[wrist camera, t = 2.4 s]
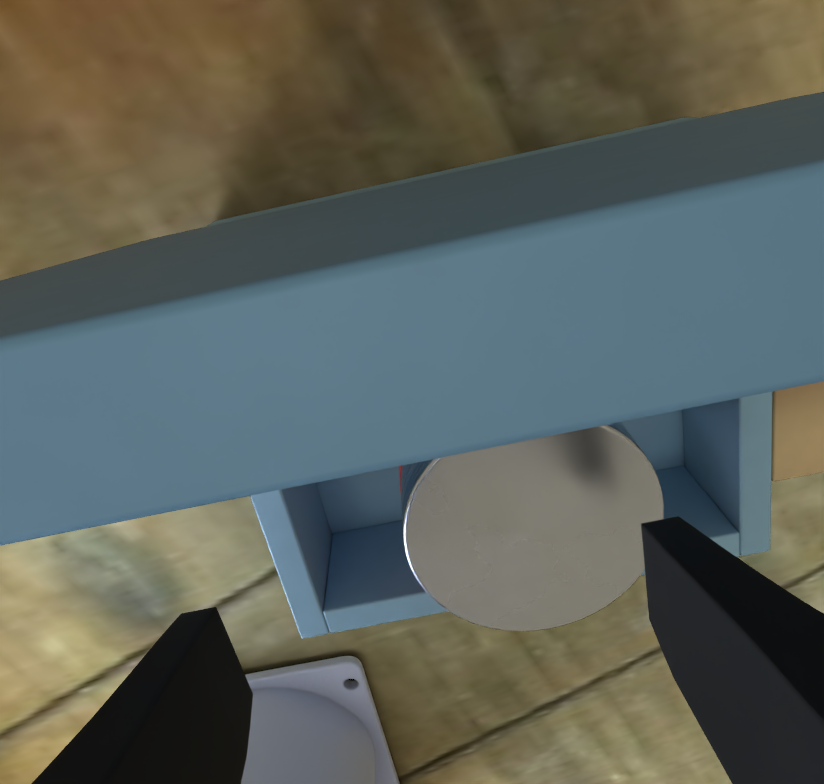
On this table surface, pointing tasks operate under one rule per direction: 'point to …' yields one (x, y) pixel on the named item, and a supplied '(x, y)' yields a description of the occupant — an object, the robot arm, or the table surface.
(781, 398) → the stool
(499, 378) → the lid
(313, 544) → the cooler
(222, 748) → the robot arm
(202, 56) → the table surface
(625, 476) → the can
